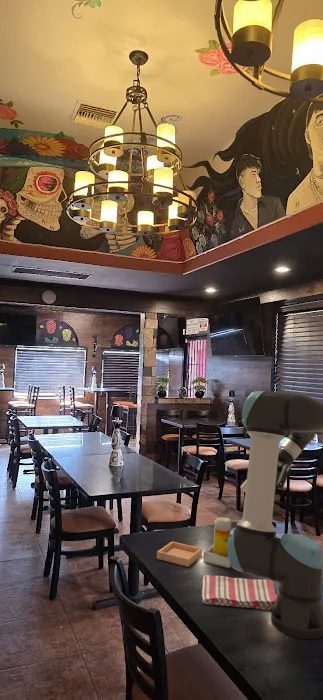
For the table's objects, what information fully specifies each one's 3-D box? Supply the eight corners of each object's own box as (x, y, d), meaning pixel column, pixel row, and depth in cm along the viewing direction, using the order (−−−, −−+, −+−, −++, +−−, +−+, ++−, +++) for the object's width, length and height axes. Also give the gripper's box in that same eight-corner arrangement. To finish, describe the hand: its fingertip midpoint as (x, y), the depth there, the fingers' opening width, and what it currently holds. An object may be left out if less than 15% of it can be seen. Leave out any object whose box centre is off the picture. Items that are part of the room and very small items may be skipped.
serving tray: (188, 566, 169) (188, 559, 169) (156, 558, 175) (157, 551, 175) (201, 555, 180) (202, 548, 180) (171, 547, 186) (172, 541, 186)
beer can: (230, 564, 174) (232, 522, 174) (213, 563, 174) (215, 521, 174) (228, 557, 180) (230, 517, 180) (212, 556, 180) (214, 516, 180)
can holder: (229, 568, 170) (229, 558, 170) (203, 561, 174) (203, 552, 175) (238, 559, 179) (238, 549, 179) (213, 552, 183) (213, 543, 183)
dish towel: (281, 613, 141) (281, 601, 141) (201, 605, 143) (202, 594, 143) (272, 587, 158) (272, 576, 158) (201, 580, 160) (201, 570, 160)
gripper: (313, 467, 177) (277, 511, 171) (273, 454, 200) (240, 492, 194) (301, 453, 175) (265, 497, 169) (263, 441, 198) (229, 479, 192)
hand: (252, 494), depth 182 cm, fingers open, 13 cm apart
